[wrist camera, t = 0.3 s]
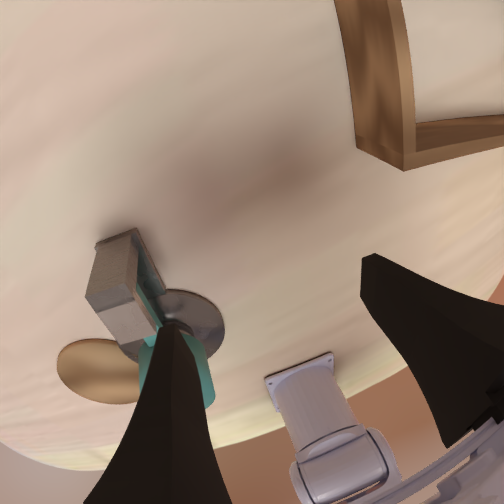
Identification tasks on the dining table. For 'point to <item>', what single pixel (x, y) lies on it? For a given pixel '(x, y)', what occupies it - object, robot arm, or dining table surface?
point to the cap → (194, 346)
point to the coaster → (99, 371)
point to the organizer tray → (399, 93)
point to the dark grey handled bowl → (161, 300)
